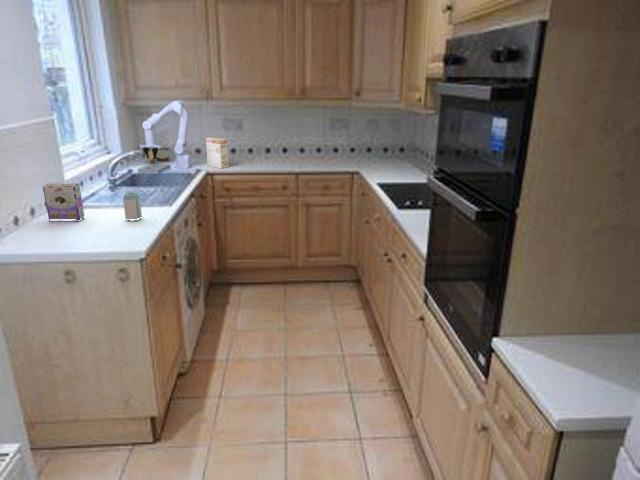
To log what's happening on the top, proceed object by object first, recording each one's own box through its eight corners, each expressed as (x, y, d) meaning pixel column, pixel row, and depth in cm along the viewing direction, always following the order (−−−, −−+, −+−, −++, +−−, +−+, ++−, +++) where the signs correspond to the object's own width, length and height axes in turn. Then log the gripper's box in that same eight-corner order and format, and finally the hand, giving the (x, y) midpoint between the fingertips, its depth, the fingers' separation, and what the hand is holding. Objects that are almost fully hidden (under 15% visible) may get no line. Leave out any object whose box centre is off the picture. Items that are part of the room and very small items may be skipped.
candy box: (85, 218, 223) (80, 182, 217) (80, 222, 217) (74, 186, 212) (54, 218, 222) (48, 182, 217) (48, 221, 217) (41, 185, 211)
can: (122, 220, 220) (119, 194, 216) (135, 216, 226) (132, 191, 222) (132, 223, 217) (129, 196, 213) (145, 219, 222) (142, 193, 218)
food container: (173, 160, 357) (172, 146, 354) (170, 162, 351) (169, 148, 348) (157, 160, 358) (156, 146, 355) (154, 161, 353) (152, 147, 349)
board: (170, 168, 330) (170, 164, 329) (158, 173, 314) (157, 169, 313) (151, 167, 332) (150, 163, 331) (138, 172, 315) (137, 169, 315)
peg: (156, 163, 337) (155, 150, 334) (153, 164, 333) (152, 151, 330) (150, 163, 338) (149, 150, 335) (148, 164, 334) (146, 151, 331)
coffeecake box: (229, 167, 337) (227, 138, 330) (221, 168, 331) (219, 139, 325) (215, 164, 346) (213, 136, 339) (207, 165, 340) (205, 137, 334)
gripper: (136, 139, 327) (139, 159, 332) (156, 140, 325) (159, 160, 330) (141, 137, 334) (144, 157, 338) (161, 138, 332) (163, 158, 336)
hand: (151, 158), depth 334 cm, fingers closed on peg, 4 cm apart
